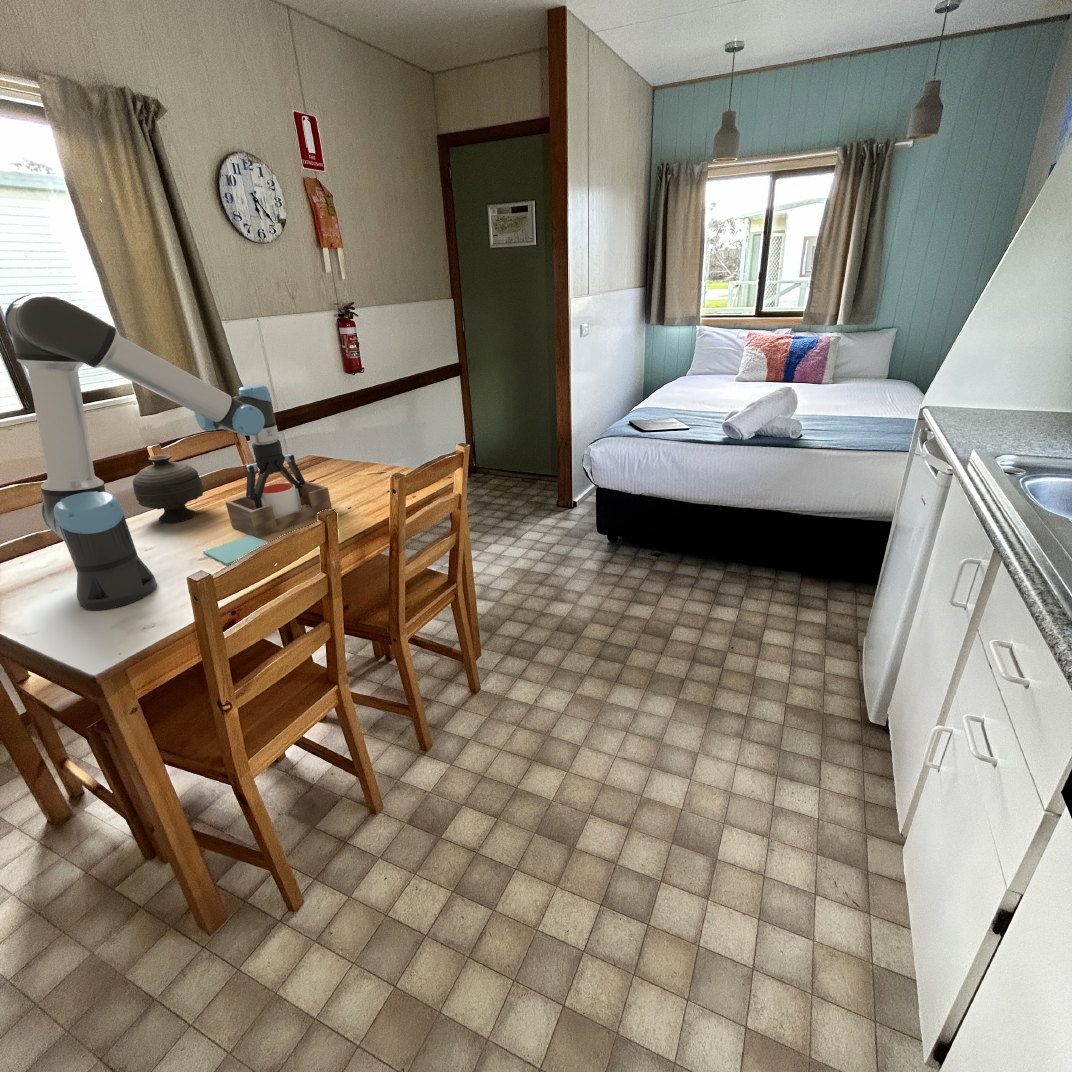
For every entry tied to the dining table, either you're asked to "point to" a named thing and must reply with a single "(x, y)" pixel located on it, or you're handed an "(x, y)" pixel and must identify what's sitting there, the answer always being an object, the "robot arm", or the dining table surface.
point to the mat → (234, 549)
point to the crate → (263, 518)
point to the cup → (281, 499)
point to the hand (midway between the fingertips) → (282, 514)
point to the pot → (168, 488)
